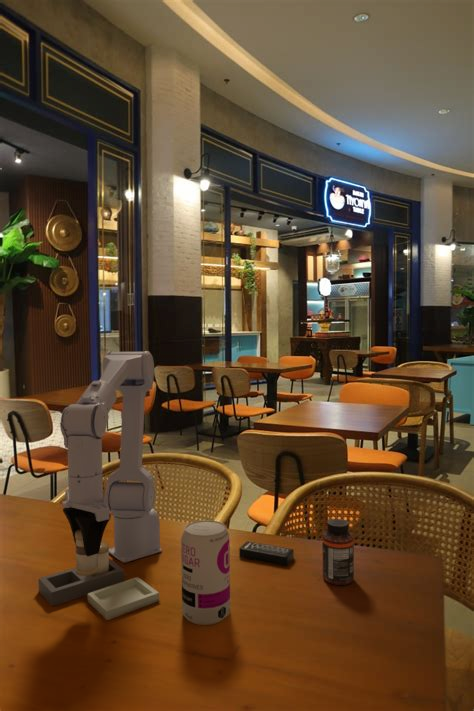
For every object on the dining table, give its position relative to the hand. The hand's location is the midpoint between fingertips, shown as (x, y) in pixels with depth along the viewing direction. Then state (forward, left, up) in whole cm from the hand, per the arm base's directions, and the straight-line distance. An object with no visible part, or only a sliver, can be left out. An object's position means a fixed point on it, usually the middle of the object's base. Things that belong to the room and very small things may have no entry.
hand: (87, 550), depth 93 cm
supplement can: (-15, +15, -11) cm, 23 cm away
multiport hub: (-38, +4, -11) cm, 40 cm away
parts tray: (-6, +2, -10) cm, 12 cm away
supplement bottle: (-42, +21, -11) cm, 48 cm away
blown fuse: (0, 0, -4) cm, 4 cm away
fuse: (-6, -8, -10) cm, 14 cm away
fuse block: (-2, -8, -10) cm, 13 cm away
